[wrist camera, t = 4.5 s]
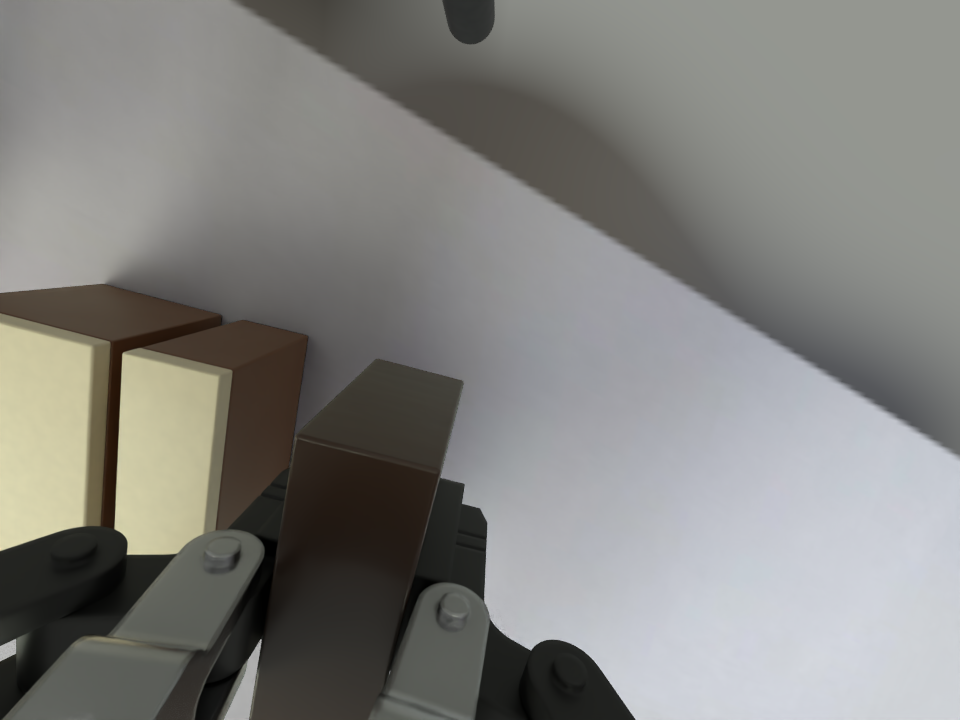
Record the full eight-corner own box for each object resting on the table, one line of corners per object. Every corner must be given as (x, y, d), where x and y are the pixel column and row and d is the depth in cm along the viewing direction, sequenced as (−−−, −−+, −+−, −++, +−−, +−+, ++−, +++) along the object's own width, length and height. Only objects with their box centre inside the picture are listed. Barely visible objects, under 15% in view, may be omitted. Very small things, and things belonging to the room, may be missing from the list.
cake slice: (241, 318, 17) (121, 351, 12) (309, 335, 17) (220, 375, 12) (219, 522, 19) (108, 631, 14) (279, 537, 19) (192, 650, 14)
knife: (376, 357, 11) (293, 433, 7) (465, 380, 11) (441, 471, 7) (283, 812, 15) (194, 1046, 11) (348, 827, 15) (286, 1066, 11)
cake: (102, 283, 17) (-85, 299, 12) (222, 314, 17) (92, 345, 12) (92, 491, 19) (-69, 587, 14) (198, 518, 19) (80, 624, 14)
